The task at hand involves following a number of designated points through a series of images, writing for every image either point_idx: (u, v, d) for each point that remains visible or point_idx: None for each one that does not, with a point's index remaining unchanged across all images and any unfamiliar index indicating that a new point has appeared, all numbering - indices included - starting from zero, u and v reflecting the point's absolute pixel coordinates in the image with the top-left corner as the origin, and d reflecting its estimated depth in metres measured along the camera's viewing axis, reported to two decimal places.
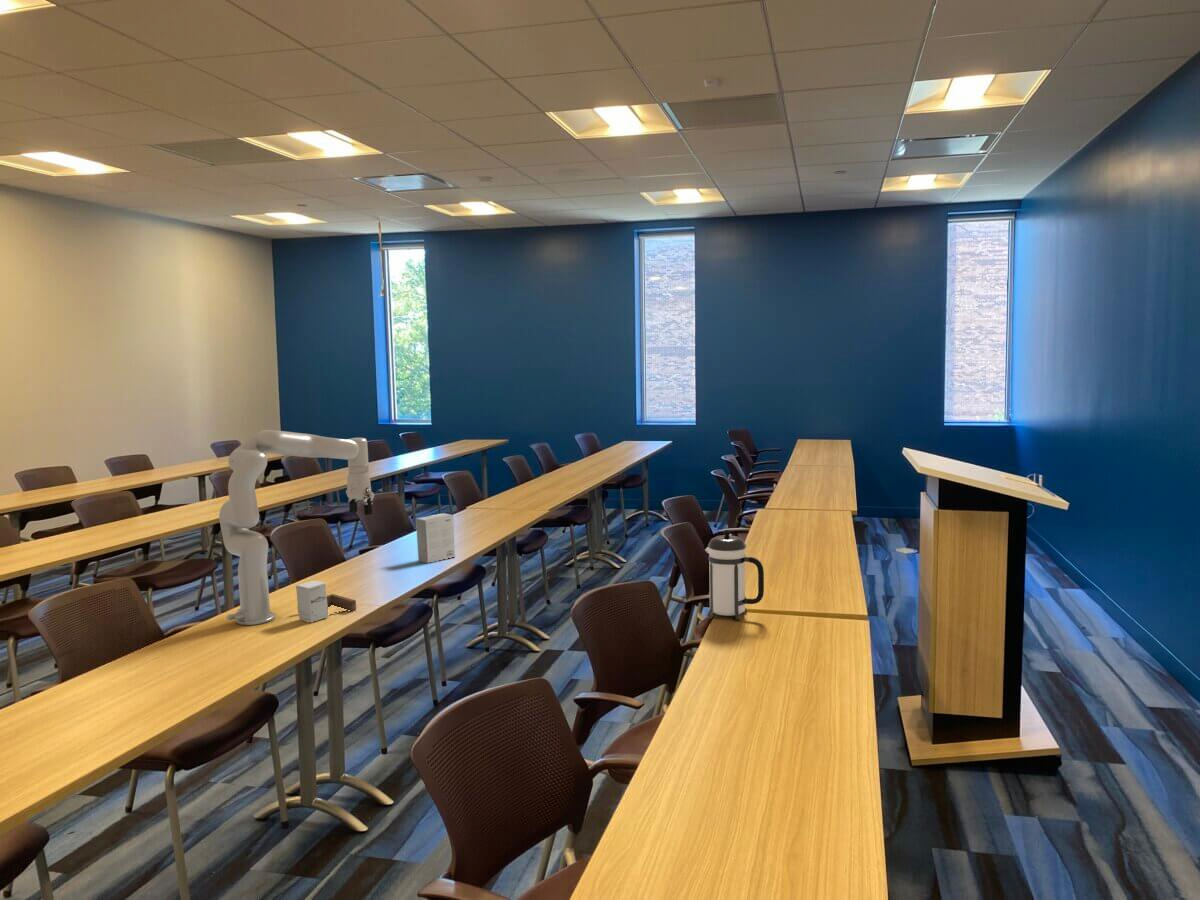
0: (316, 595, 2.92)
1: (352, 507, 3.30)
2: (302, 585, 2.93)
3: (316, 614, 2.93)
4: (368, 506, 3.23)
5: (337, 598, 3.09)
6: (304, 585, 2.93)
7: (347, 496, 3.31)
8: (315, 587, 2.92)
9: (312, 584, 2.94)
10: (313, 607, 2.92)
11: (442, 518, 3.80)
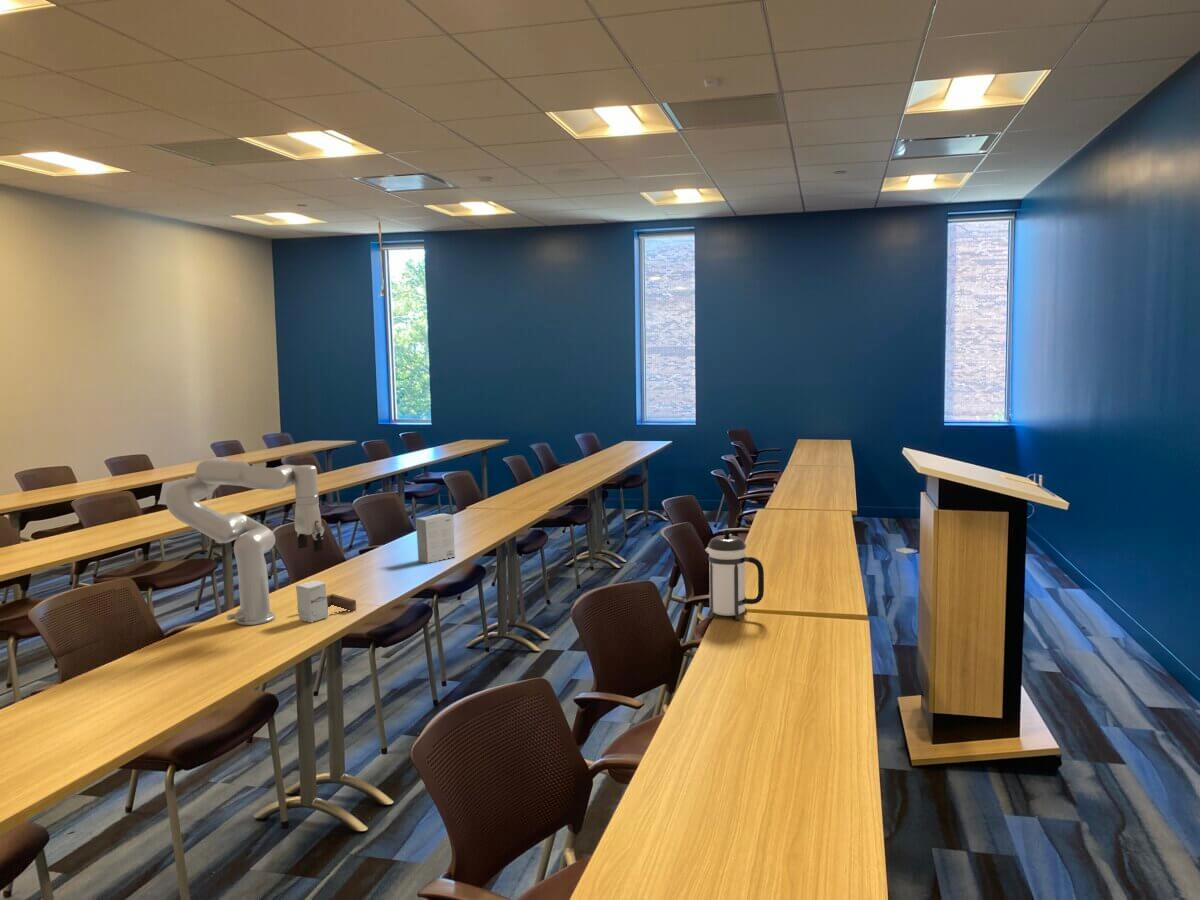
0: (316, 595, 2.92)
1: (301, 542, 2.96)
2: (302, 585, 2.93)
3: (316, 614, 2.93)
4: (318, 542, 2.89)
5: (337, 598, 3.09)
6: (304, 585, 2.93)
7: None
8: (315, 587, 2.92)
9: (312, 584, 2.94)
10: (313, 607, 2.92)
11: (442, 518, 3.80)
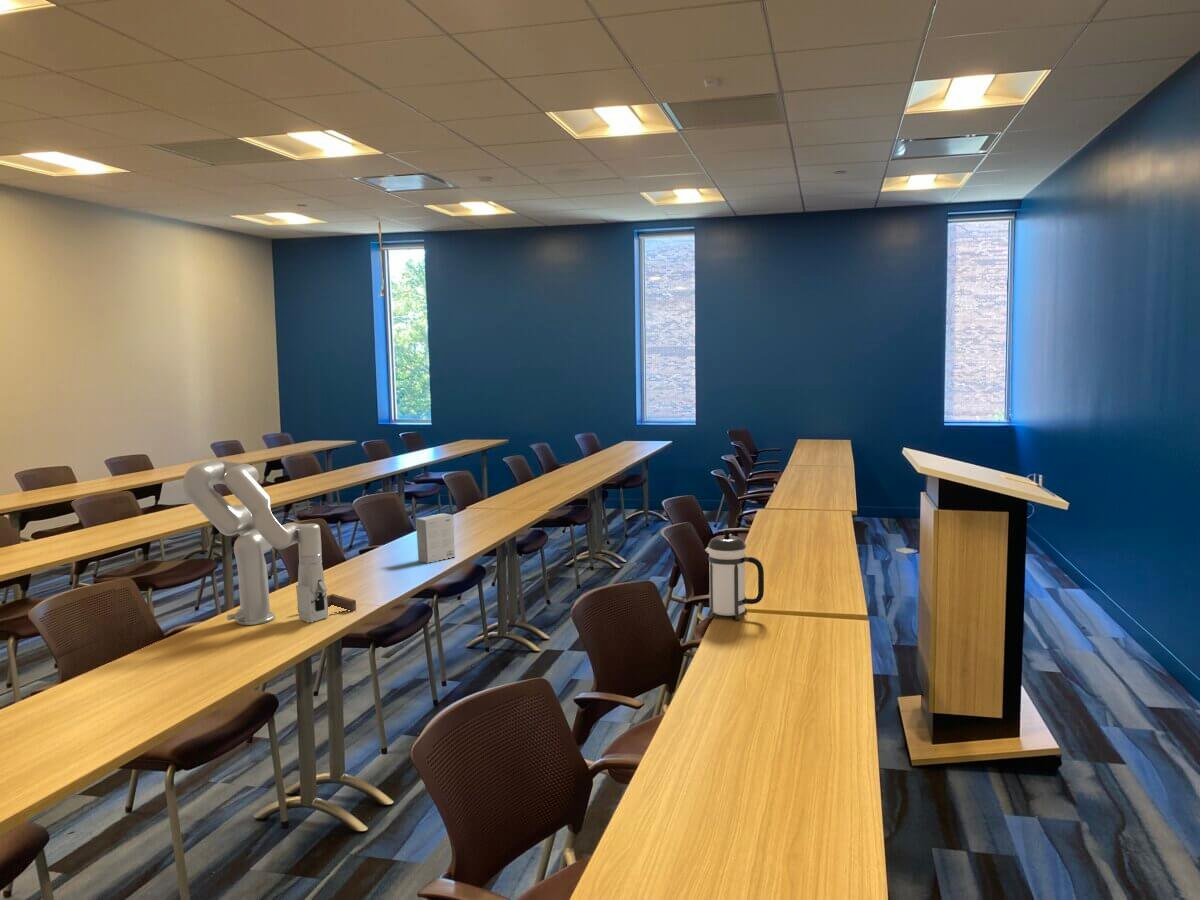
0: None
1: None
2: (302, 585, 2.93)
3: (316, 614, 2.93)
4: (320, 601, 2.92)
5: (337, 598, 3.09)
6: None
7: None
8: None
9: None
10: (313, 607, 2.92)
11: (442, 518, 3.80)
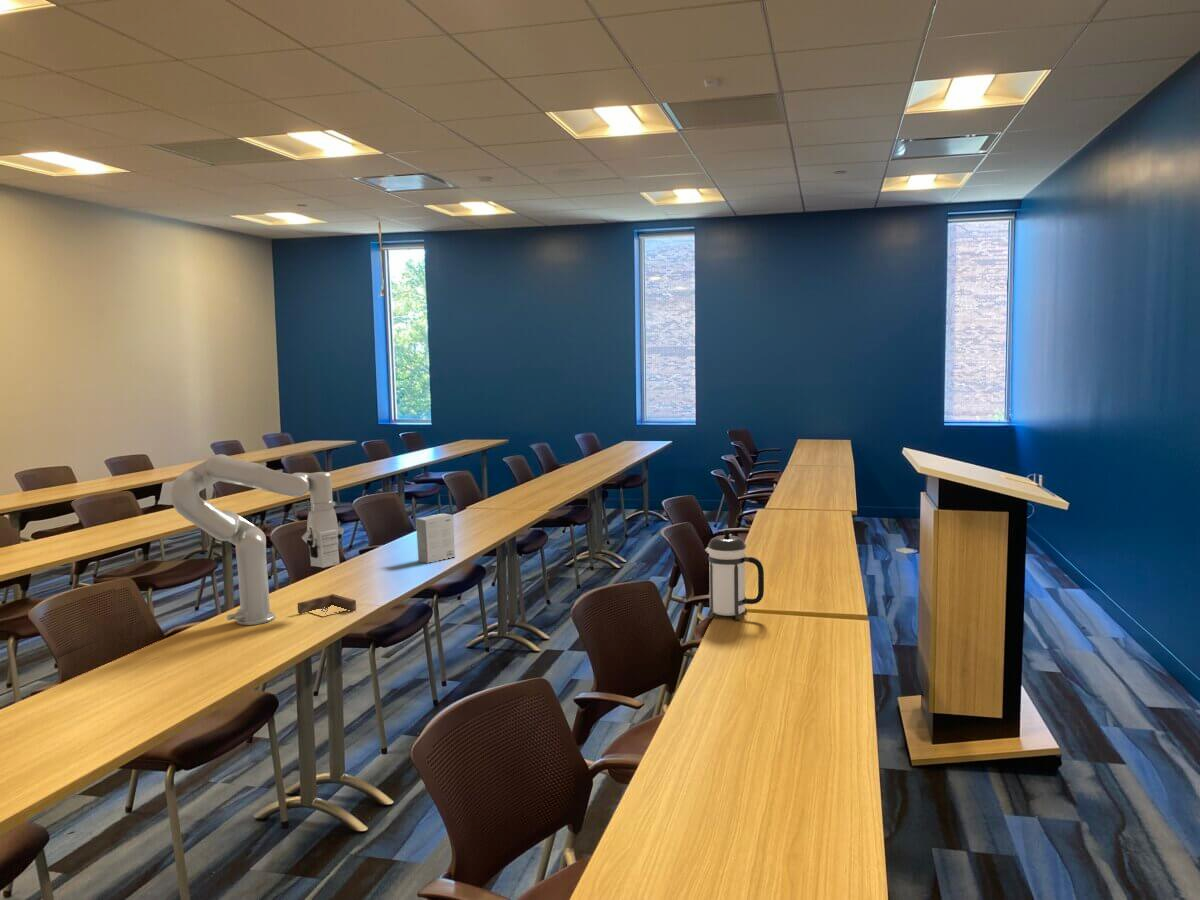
0: None
1: None
2: None
3: (313, 559, 3.01)
4: (310, 548, 2.99)
5: (337, 598, 3.09)
6: None
7: None
8: None
9: None
10: None
11: (442, 518, 3.80)
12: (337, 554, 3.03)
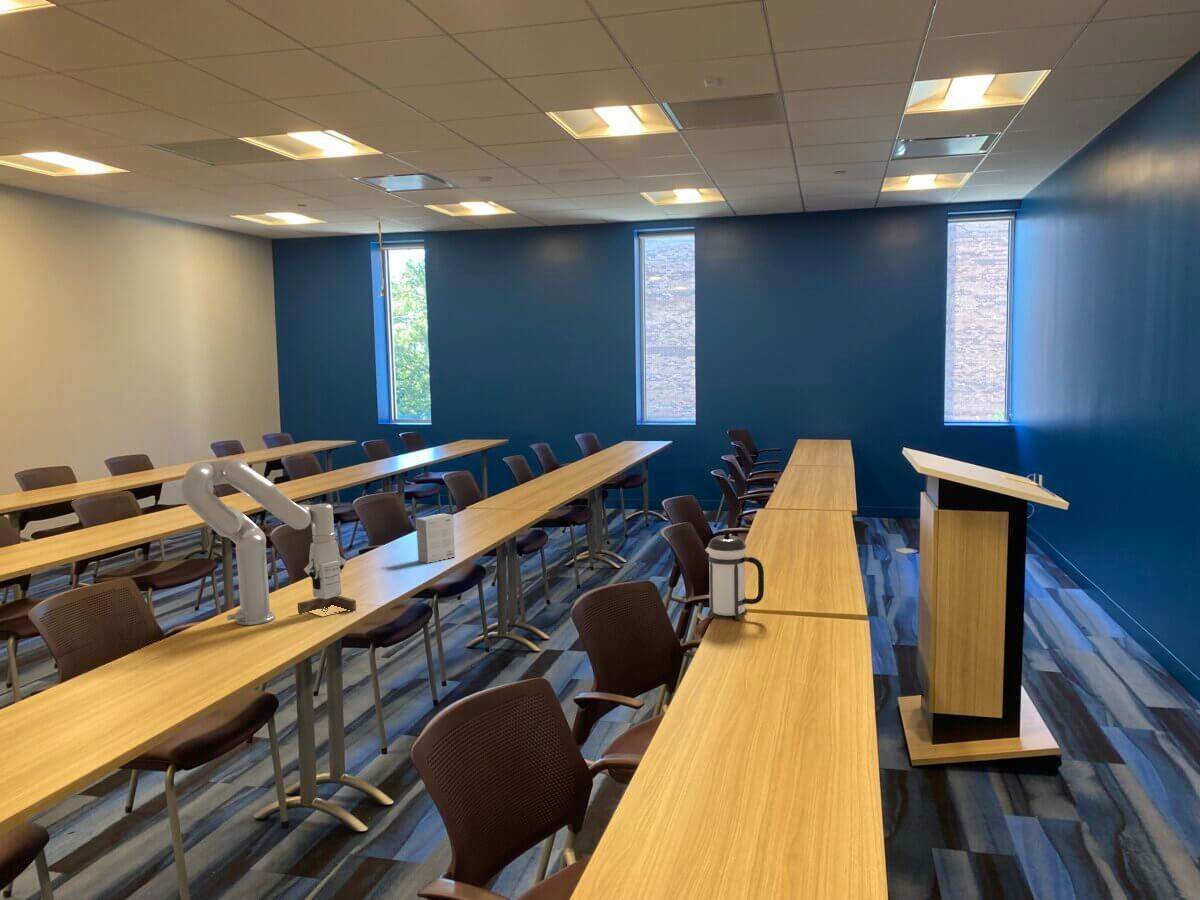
0: (315, 573, 3.01)
1: None
2: None
3: (316, 591, 3.02)
4: (313, 580, 3.00)
5: (337, 598, 3.09)
6: None
7: None
8: None
9: None
10: None
11: (442, 518, 3.80)
12: (339, 585, 3.04)
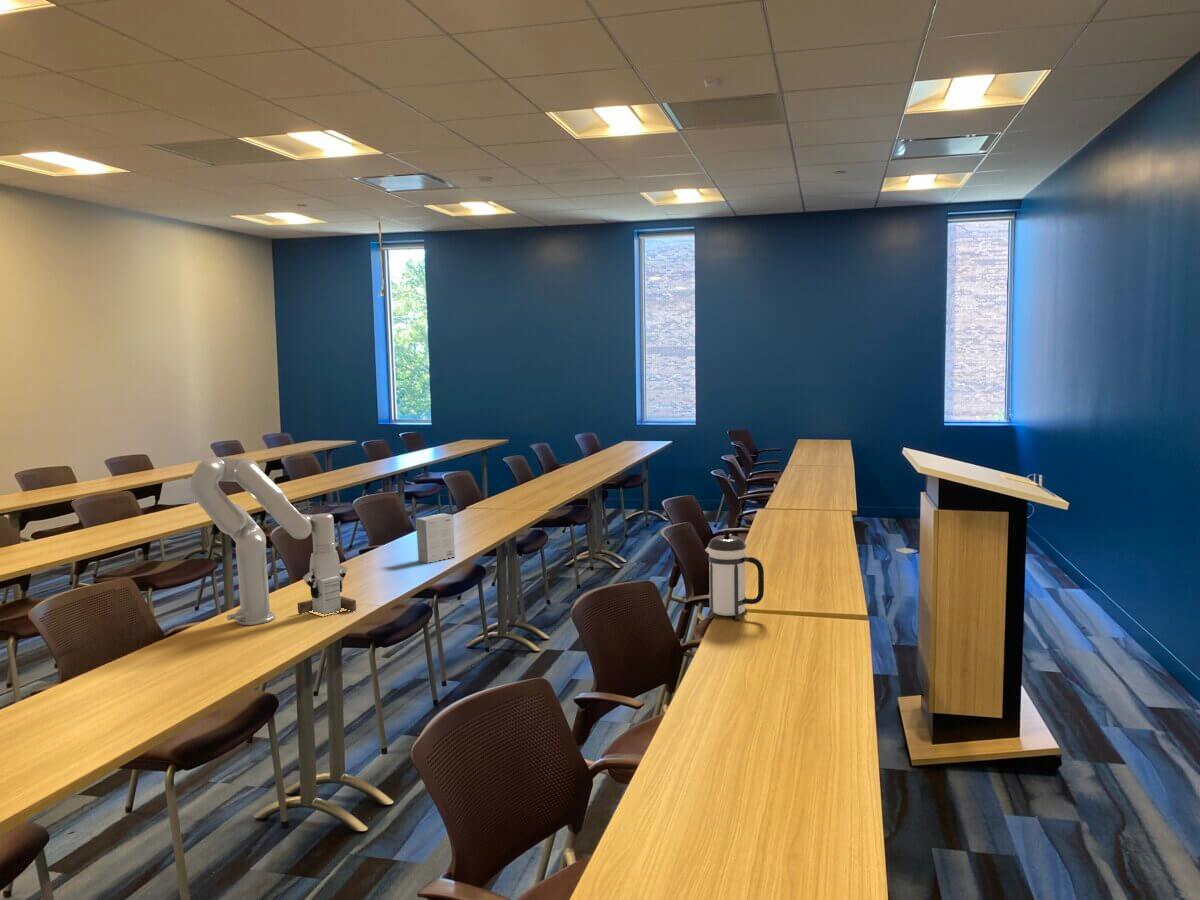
0: None
1: None
2: None
3: (315, 605, 3.02)
4: (311, 589, 3.00)
5: None
6: None
7: None
8: None
9: None
10: (314, 598, 3.02)
11: (442, 518, 3.80)
12: (339, 601, 3.04)
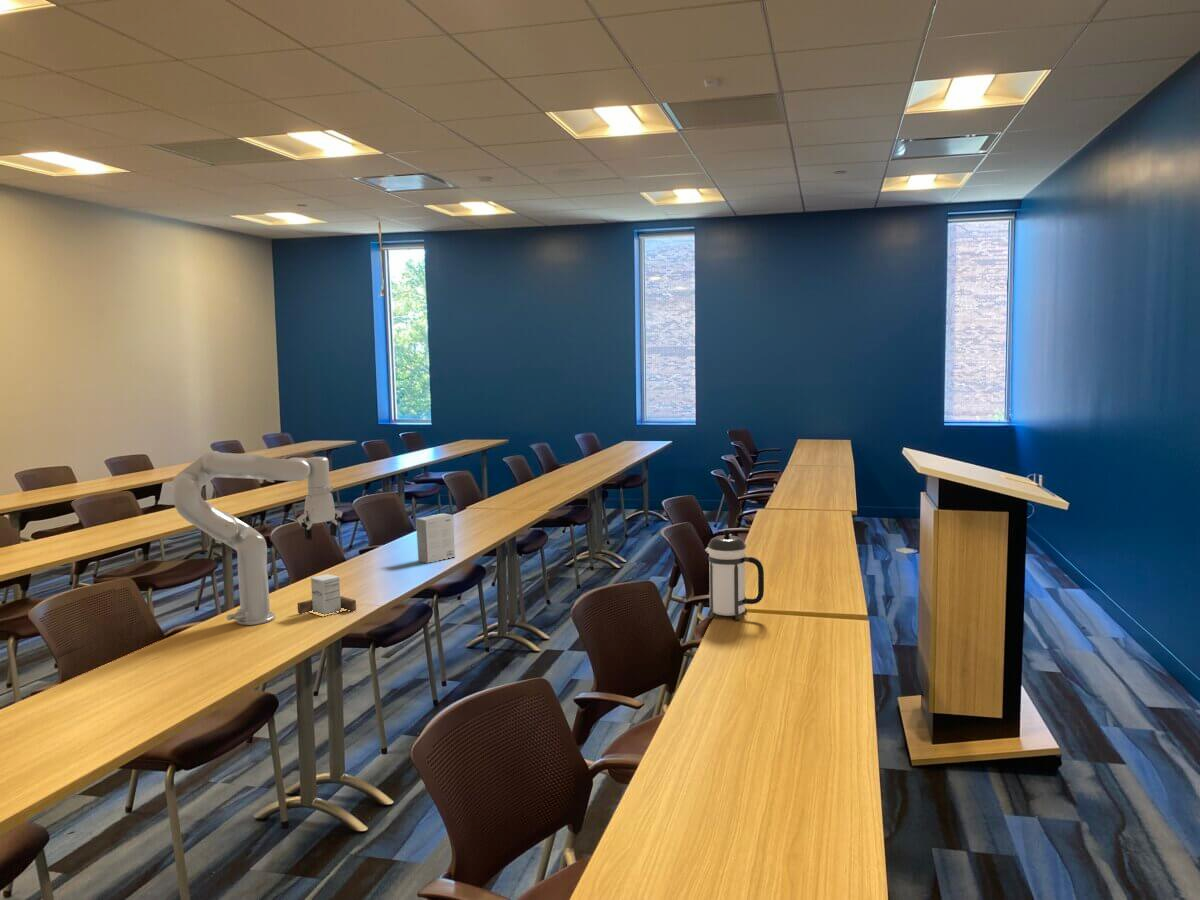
0: (315, 588, 3.01)
1: (331, 530, 3.10)
2: (323, 575, 3.06)
3: (315, 605, 3.02)
4: (305, 530, 3.02)
5: None
6: (322, 575, 3.05)
7: None
8: (315, 580, 3.01)
9: (321, 577, 3.02)
10: (314, 598, 3.02)
11: (442, 518, 3.80)
12: (339, 601, 3.04)
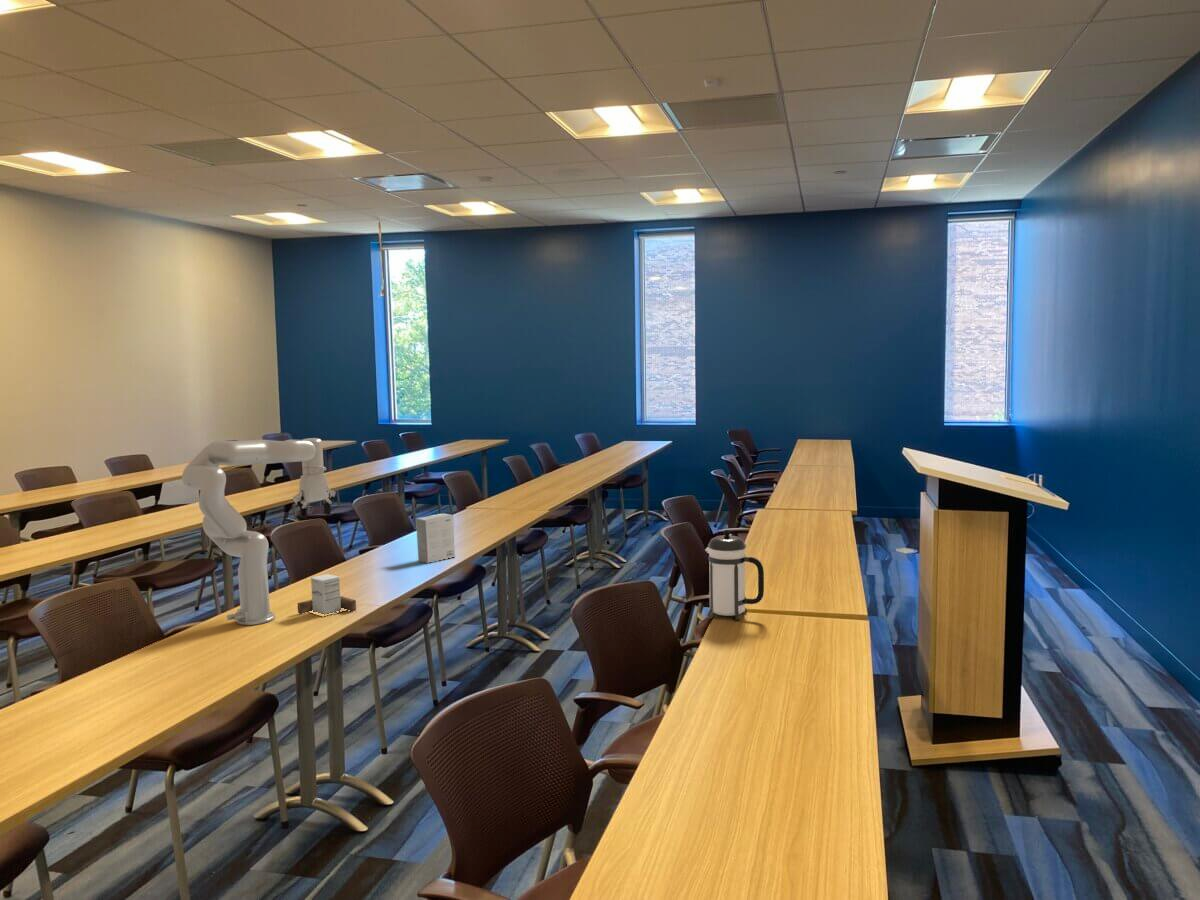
0: (315, 588, 3.01)
1: (325, 509, 3.21)
2: (323, 575, 3.06)
3: (315, 605, 3.02)
4: (300, 509, 3.12)
5: None
6: (322, 575, 3.05)
7: None
8: (315, 580, 3.01)
9: (321, 577, 3.02)
10: (314, 598, 3.02)
11: (442, 518, 3.80)
12: (339, 601, 3.04)
